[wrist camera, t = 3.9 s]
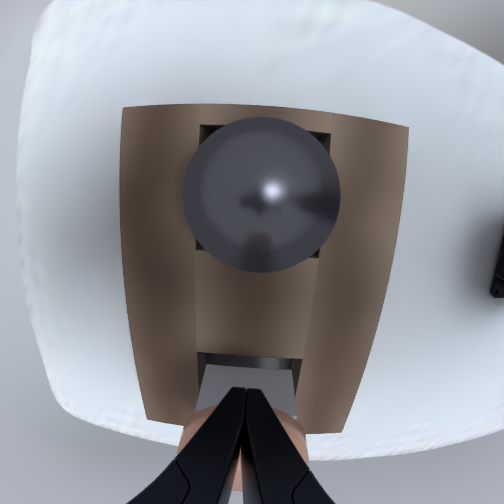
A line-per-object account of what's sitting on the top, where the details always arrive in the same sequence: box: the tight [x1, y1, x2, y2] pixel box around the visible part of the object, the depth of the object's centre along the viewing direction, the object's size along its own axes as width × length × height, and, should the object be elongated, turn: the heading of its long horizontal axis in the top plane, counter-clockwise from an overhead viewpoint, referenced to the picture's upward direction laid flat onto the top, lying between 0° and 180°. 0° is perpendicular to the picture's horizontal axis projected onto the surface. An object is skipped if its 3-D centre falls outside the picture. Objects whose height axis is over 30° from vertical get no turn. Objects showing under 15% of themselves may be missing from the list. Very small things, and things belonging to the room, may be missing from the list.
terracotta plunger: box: [177, 364, 308, 491], centre depth 15 cm, size 6×6×5 cm
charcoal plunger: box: [182, 117, 341, 273], centre depth 15 cm, size 6×6×5 cm
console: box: [120, 104, 409, 434], centre depth 17 cm, size 14×20×4 cm
